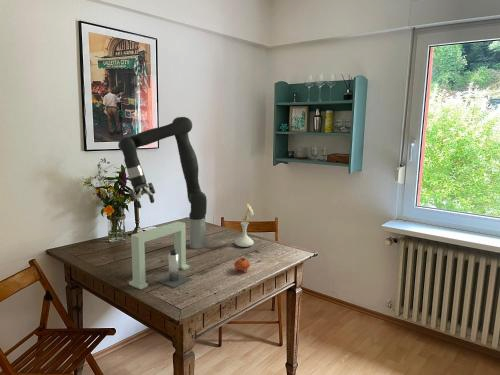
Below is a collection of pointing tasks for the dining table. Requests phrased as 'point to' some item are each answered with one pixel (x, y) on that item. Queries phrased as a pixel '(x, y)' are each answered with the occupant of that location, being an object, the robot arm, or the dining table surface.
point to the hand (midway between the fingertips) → (146, 205)
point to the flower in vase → (244, 239)
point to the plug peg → (173, 265)
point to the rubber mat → (174, 283)
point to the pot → (242, 264)
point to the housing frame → (151, 234)
